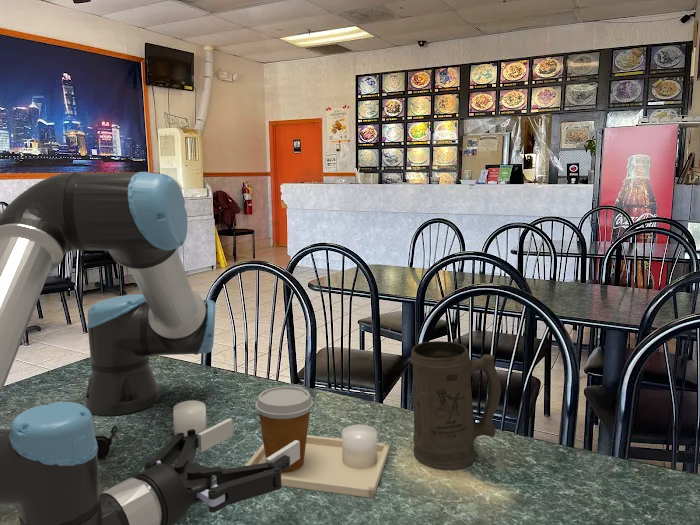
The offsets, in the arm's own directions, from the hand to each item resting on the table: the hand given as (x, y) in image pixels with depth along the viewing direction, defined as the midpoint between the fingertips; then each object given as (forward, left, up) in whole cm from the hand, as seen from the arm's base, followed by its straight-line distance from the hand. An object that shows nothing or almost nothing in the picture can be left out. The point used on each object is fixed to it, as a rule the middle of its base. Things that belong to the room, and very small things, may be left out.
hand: (263, 437), depth 84 cm
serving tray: (-9, +6, -9) cm, 14 cm away
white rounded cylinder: (-12, +12, -9) cm, 20 cm away
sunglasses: (-6, -37, -10) cm, 39 cm away
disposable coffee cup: (-8, 0, -9) cm, 12 cm away
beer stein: (-18, +28, -9) cm, 35 cm away
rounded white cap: (-16, -22, -9) cm, 29 cm away
